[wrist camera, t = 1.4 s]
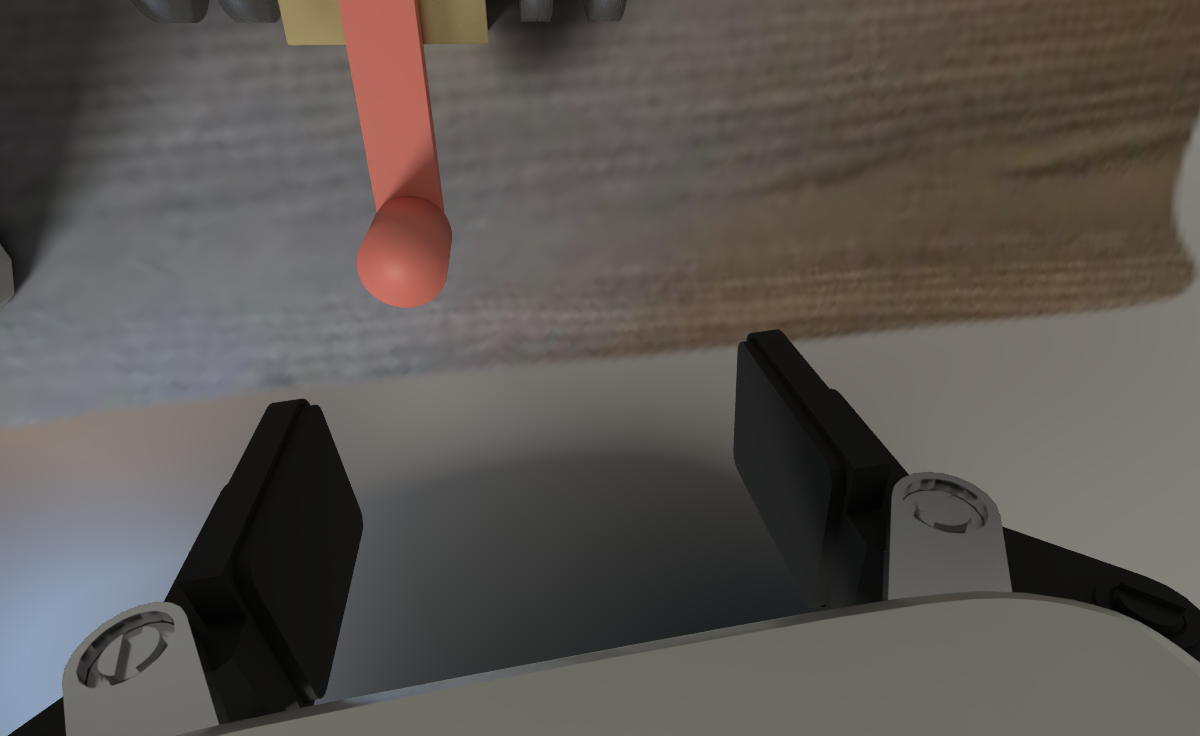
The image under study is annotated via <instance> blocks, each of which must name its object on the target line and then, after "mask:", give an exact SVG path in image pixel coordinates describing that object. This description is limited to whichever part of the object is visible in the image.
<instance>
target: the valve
mask: <svg viewBox="0 0 1200 736" xmlns="http://www.w3.org/2000/svg"><path fill="white" fill-rule="evenodd" d="M131 1H132V2H133V3H134V5H135V6H136V7H137V8H138V9H139V10H140V11H141V12H142V13H143V14H144V15H146V16H147V17H148V18H150V19H151V20H153V21H155V22H158V23H197V22H200V21H201V20H202V19H203V18H204V17H205V15H206V13H207V10H208V5H209V0H131ZM626 1H627V0H583V2H584V8H585V13H586V16H587V19H588V21H589V22H603V21H620V20H621V18H622V16H623V13H624V9H625V6H626ZM218 2H219V3H220V5H221V6H222V8H223V9H224V10H225V12H226V13H227V14H228V15H229V16H230V17H231V18H232V19H234V20H235V21H237V22H239V23H275V22H277V21H278V19H279V18H280V15H281V16H282V20H283V25H284V29H285V34H286V38H287V43H288V45H346V42H345V36H344V31H343V25H342V20H341V14H340V9H339V3H338V0H218ZM518 6H519V15H520V21H521V22H550V21H551V17H552V9H553V0H518ZM418 8H419V16H420V24H421V32H422V40H423V44H488V23H487V10H486V0H418Z"/></svg>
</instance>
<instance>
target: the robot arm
mask: <svg viewBox="0 0 1200 736" xmlns="http://www.w3.org/2000/svg"><path fill="white" fill-rule="evenodd" d="M733 450H734V460H735V464H736V467H737V470H738V472H739V474H740V476H741V478H742V480H743V481H744V484H745V486H746V487H747V489H748V492H749V494H750V496H751V497H752V499H753V501H754V503H755V505H756V507H757V509H758V511H759V513H760V515H761V517H762V519H763V521H764V523H765V525H766V527H767V529H768V531H769V533H770V535H771V537H772V539H773V541H774V543H775V545H776V547H777V549H778V551H779V553H780V555H781V557H782V559H783V561H784V562H785V564H786V566H787V568H788V570H789V572H790V574H791V576H792V578H793V580H794V582H795V584H796V586H797V588H798V590H799V592H800V594H801V596H802V598H803V600H804V601H805V603H806V604H807V606H808V607H817V608H818V610H819V612H813V613H807V614H801V615H796V616H791V617H785V618H779V619H774V620H768V621H763V622H757V623H751V624H746V625H740V626H735V627H729V628H724V629H718V630H713V631H707V632H702V633H696V634H691V635H685V636H680V637H674V638H668V639H663V640H657V641H652V642H647V643H641V644H636V645H630V646H625V647H620V648H614V649H609V650H603V651H598V652H593V653H587V654H582V655H577V656H572V657H566V658H560V659H555V660H550V661H545V662H539V663H534V664H528V665H524V666H518V667H513V668H507V669H502V670H496V671H492V672H486V673H480V674H475V675H470V676H465V677H459V678H454V679H449V680H444V681H439V682H434V683H428V684H423V685H418V686H413V687H407V688H402V689H397V690H391V691H387V692H381V693H376V694H371V695H365V696H360V697H355V698H350V699H345V700H339V701H334V702H329V703H324V704H319V705H314V701H315V700H316V699H321V698H322V697H323V696H324V695H325V692H326V689H327V686H328V681H329V677H330V672H331V668H332V663H333V659H334V655H335V650H336V646H337V642H338V637H339V633H340V628H341V623H342V619H343V615H344V610H345V606H346V602H347V597H348V593H349V588H350V584H351V579H352V575H353V570H354V566H355V562H356V558H357V553H358V549H359V544H360V540H361V536H362V531H363V520H362V514H361V510H360V508H359V505H358V502H357V500H356V497H355V495H354V492H353V490H352V487H351V484H350V482H349V479H348V477H347V474H346V472H345V469H344V466H343V464H342V461H341V459H340V456H339V454H338V451H337V448H336V446H335V443H334V441H333V438H332V435H331V433H330V430H329V428H328V425H327V423H326V420H325V417H324V415H323V412H322V410H321V408H320V407H319V406H318V405H311V406H310V404H309V402H308V401H307V400H306V399H297V400H290V401H283V402H277V403H272V404H270V405H269V406H268V407H267V409H266V411H265V413H264V415H263V417H262V419H261V421H260V423H259V425H258V426H257V428H256V430H255V433H254V434H253V436H252V438H251V440H250V442H249V444H248V446H247V448H246V450H245V452H244V454H243V456H242V458H241V460H240V462H239V463H238V465H237V468H236V469H235V471H234V473H233V475H232V477H231V479H230V481H229V483H228V484H227V485H226V486H225V487H224V488H223V490H222V491H221V493H220V495H219V497H218V499H217V500H216V502H215V504H214V506H213V508H212V510H211V512H210V514H209V516H208V518H207V520H206V522H205V523H204V525H203V527H202V529H201V531H200V533H199V535H198V537H197V539H196V541H195V543H194V545H193V547H192V549H191V551H190V552H189V554H188V556H187V558H186V560H185V562H184V564H183V566H182V568H181V570H180V572H179V573H178V575H177V577H176V579H175V581H174V583H173V585H172V587H171V589H170V591H169V593H168V595H167V597H166V599H165V601H164V602H153V603H148V604H144V605H139V606H137V607H134V608H132V609H129V610H127V611H124V612H122V613H120V614H118V615H117V616H115V617H114V618H112V619H110V620H108V621H107V622H105V623H104V624H102V625H101V626H100V627H98V628H97V629H96V630H95V631H93V632H92V633H91V634H90V635H89V636H88V637H86V638H85V639H84V641H83V642H82V643H81V644H80V645H79V646H78V647H77V649H76V650H75V651H74V652H73V654H72V655H71V657H70V659H69V661H68V663H67V665H66V666H65V668H64V674H63V680H62V688H63V697H62V698H60V699H59V700H58V701H56V702H55V703H53V704H52V705H51V706H49V707H48V708H46V709H45V710H43V711H42V712H41V713H39V714H38V715H36V716H35V717H33V718H32V719H31V720H29V721H28V722H26V723H25V724H24V725H22V726H21V727H19V728H18V729H16V730H15V731H14V732H12V733H11V734H9V735H8V736H1200V610H1199V609H1198V608H1197V607H1196V606H1194V605H1193V604H1192V603H1191V602H1190V601H1189V600H1188V599H1187V598H1186V597H1184V596H1182V595H1181V594H1179V593H1178V592H1176V591H1174V590H1173V589H1171V588H1170V587H1168V586H1166V585H1164V584H1162V583H1160V582H1157V581H1155V580H1153V579H1150V578H1148V577H1145V576H1143V575H1140V574H1137V573H1134V572H1131V571H1129V570H1126V569H1123V568H1120V567H1117V566H1114V565H1111V564H1108V563H1105V562H1103V561H1100V560H1097V559H1094V558H1091V557H1088V556H1086V555H1083V554H1080V553H1077V552H1074V551H1071V550H1068V549H1065V548H1062V547H1059V546H1057V545H1054V544H1051V543H1048V542H1045V541H1042V540H1040V539H1037V538H1034V537H1031V536H1028V535H1025V534H1022V533H1019V532H1017V531H1013V530H1011V529H1008V528H1005V527H1002V522H1001V516H1000V513H999V511H998V508H997V506H996V504H995V503H994V501H993V500H992V499H991V498H990V497H989V496H988V495H987V494H986V493H985V492H984V491H982V490H981V489H980V488H978V487H977V486H975V485H974V484H972V483H969V482H967V481H965V480H963V479H961V478H958V477H955V476H951V475H948V474H944V473H934V472H922V473H913V474H911V475H909V474H908V473H907V472H906V471H905V469H904V468H903V467H902V466H901V465H900V464H899V463H898V461H897V460H896V459H895V458H894V456H893V455H892V454H891V453H890V452H889V451H888V449H887V448H886V447H885V446H884V445H883V444H882V442H881V441H880V440H879V439H878V438H877V436H876V435H875V434H874V433H873V432H872V431H871V430H870V429H869V427H868V426H867V425H866V423H864V421H863V420H862V419H861V418H860V416H859V415H858V414H857V413H856V412H855V410H854V409H853V408H852V407H851V406H850V405H849V404H848V402H847V401H846V400H845V399H844V398H843V396H842V395H841V394H840V393H839V392H838V391H836V390H834V389H829V388H828V386H827V385H826V384H825V383H824V382H823V380H821V378H820V377H819V376H818V374H817V373H816V372H815V371H814V370H813V368H812V367H811V366H810V365H809V364H808V362H807V361H806V360H805V359H804V358H803V356H802V355H801V354H800V353H799V352H798V350H797V349H796V348H795V347H794V346H793V344H792V343H791V342H790V341H789V340H788V338H787V337H786V336H785V335H784V333H783V332H782V331H780V330H779V329H776V330H769V331H762V332H755V333H750V334H749V335H748V337H747V341H745V342H740V343H739V346H738V357H737V380H736V403H735V428H734V449H733Z"/></svg>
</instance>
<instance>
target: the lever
mask: <svg viewBox="0 0 1200 736" xmlns="http://www.w3.org/2000/svg"><path fill="white" fill-rule="evenodd" d="M338 3H339V9H340V14H341V20H342V25H343V31H344V36H345V42H346V47H347V53H348V58H349V63H350V69H351V74H352V80H353V85H354V91H355V96H356V102H357V107H358V113H359V118H360V124H361V129H362V134H363V140H364V145H365V151H366V156H367V162H368V167H369V173H370V178H371V184H372V189H373V195H374V200H375V205H376V211H377V213H376V215H375V217H374V219H373V222H372V224H371V226H370V228H369V230H368V232H367V234H366V236H365V239H364V241H363V243H362V245H361V247H360V249H359V252H358V256H357V271H358V274H359V277H360V279H361V282H362V283H363V285H364V286H365V288H366V289H367V290H368V291H369V292H370V293H371V294H372V295H373V296H374V297H376V298H377V299H379V300H380V301H382V302H384V303H386V304H389V305H392V306H396V307H403V308H408V307H416V306H420V305H423V304H425V303H427V302H429V301H431V300H432V299H434V298H435V297H436V296H437V295H438V294H439V293H440V291H441V290H442V288H443V287H444V284H445V282H446V278H447V271H448V264H449V257H450V249H451V242H452V231H451V227H450V224H449V221H448V219H447V217H446V216H445V214H444V206H443V198H442V190H441V182H440V174H439V166H438V159H437V151H436V143H435V135H434V127H433V119H432V111H431V103H430V95H429V87H428V79H427V71H426V63H425V56H424V48H423V40H422V32H421V24H420V16H419V8H418V0H338Z"/></svg>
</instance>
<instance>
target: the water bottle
mask: <svg viewBox="0 0 1200 736" xmlns="http://www.w3.org/2000/svg"><path fill="white" fill-rule="evenodd" d="M13 295H14V283H13V272H12V261H11V259H10V257H9V256H8V254H7V253H6V251H5V250H4V248H3V247H2V245H1V244H0V311H1V309H2V308H3V307H4V306H5V305H6V303H7V302H8V301H9V300H10V299H11V297H12V296H13Z"/></svg>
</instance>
